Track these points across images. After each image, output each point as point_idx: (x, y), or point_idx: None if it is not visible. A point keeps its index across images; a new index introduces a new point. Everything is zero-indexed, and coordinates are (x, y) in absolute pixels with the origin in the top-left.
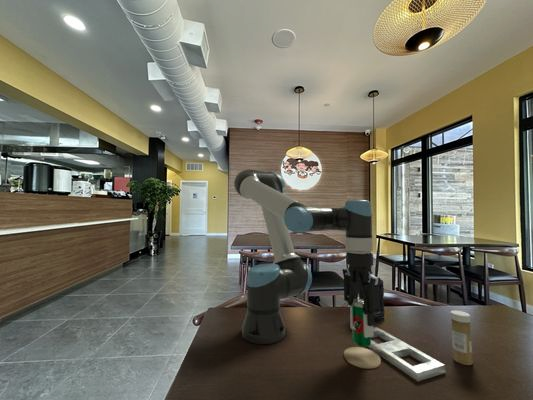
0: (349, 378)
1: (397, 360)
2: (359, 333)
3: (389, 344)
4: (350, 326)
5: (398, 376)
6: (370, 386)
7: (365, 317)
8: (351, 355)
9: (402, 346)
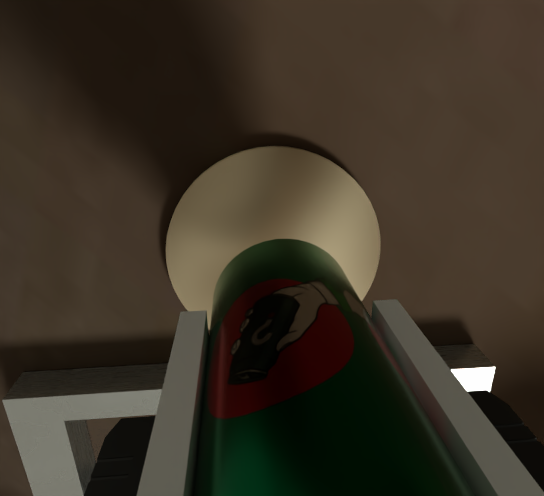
0: (112, 37)
1: (132, 389)
2: (240, 296)
3: None
4: (401, 306)
5: (76, 320)
6: (18, 117)
7: (140, 480)
8: (303, 200)
9: None
